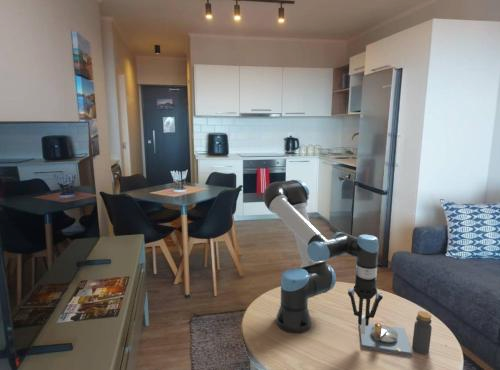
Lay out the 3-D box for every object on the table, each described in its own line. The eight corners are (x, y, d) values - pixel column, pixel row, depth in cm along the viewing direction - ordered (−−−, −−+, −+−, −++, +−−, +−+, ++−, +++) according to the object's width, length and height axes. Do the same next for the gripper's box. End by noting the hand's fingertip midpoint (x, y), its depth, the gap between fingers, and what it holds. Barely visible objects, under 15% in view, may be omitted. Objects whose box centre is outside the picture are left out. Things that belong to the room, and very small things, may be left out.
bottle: (432, 353, 127) (436, 317, 124) (420, 356, 125) (424, 319, 123) (420, 343, 132) (424, 309, 130) (408, 346, 131) (412, 311, 128)
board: (361, 348, 129) (361, 345, 129) (359, 324, 145) (359, 321, 145) (412, 357, 125) (412, 353, 124) (404, 331, 140) (404, 327, 140)
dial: (372, 343, 129) (373, 325, 128) (370, 326, 141) (371, 309, 139) (400, 348, 127) (401, 330, 126) (395, 330, 138) (396, 313, 137)
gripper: (348, 277, 125) (345, 334, 129) (385, 282, 122) (381, 340, 125) (348, 269, 132) (345, 324, 136) (383, 273, 129) (379, 329, 133)
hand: (362, 331), depth 131 cm, fingers closed
